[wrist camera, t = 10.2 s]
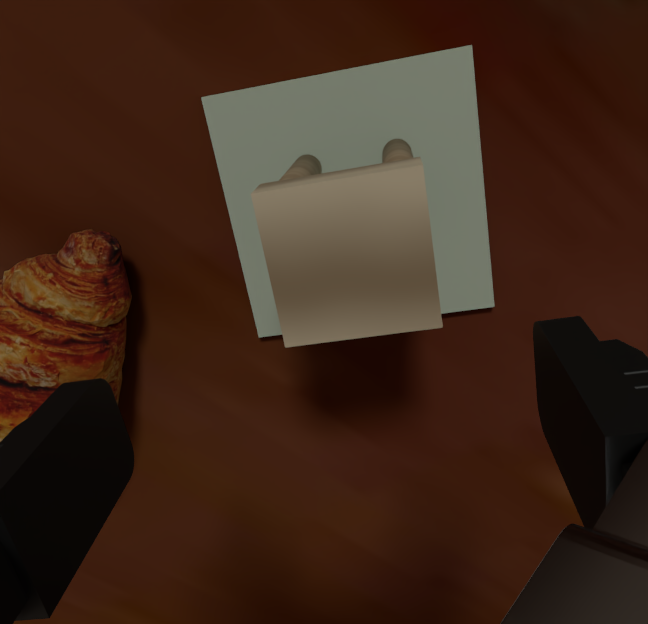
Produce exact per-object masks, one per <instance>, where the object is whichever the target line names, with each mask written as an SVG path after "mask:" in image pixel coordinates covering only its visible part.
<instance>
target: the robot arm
mask: <svg viewBox="0 0 648 624" xmlns="http://www.w3.org/2000/svg"><path fill="white" fill-rule="evenodd" d="M533 341H534V357H535V373H536V388H537V403H538V410H539V416H540V421H541V425H542V429H543V432H544V435H545V437H546V440H547V442H548V444H549V447H550V449H551V451H552V453H553V456H554V458H555V460H556V463H557V465H558V467H559V470H560V472H561V474H562V476H563V479H564V481H565V483H566V486H567V488H568V490H569V493H570V495H571V497H572V499H573V502H574V504H575V506H576V509H577V511H578V513H579V516H580V518H581V520H582V522H583V525H584V527H582V526H579V525H576V524H570V525H568V526H567V527H565V528H564V529H563V530H562V532H561V533H560V534H559V536H558V537H557V539H556V540H555V542H554V543H553V545H552V546H551V548H550V549H549V551H548V552H547V554H546V555H545V557H544V558H543V560H542V561H541V563H540V564H539V566H538V567H537V569H536V570H535V572H534V574H533V575H532V577H531V578H530V580H529V581H528V583H527V584H526V586H525V587H524V589H523V590H522V592H521V593H520V595H519V596H518V598H517V599H516V601H515V602H514V604H513V605H512V607H511V608H510V610H509V611H508V613H507V615H506V616H505V618H504V619H503V621H502V622H501V624H648V358H647V356H646V355H645V354H644V353H643V352H642V351H640V350H638V349H636V348H634V347H632V346H630V345H628V344H626V343H624V342H622V341H620V340H617V339H615V340H607V341H599V340H598V339H597V337H596V336H595V335H594V333H593V332H592V331H591V329H590V328H589V327H588V326H587V324H586V323H585V322H584V320H583V319H582V318H581V317H580V316H575V317H567V318H560V319H552V320H545V321H537V322H535V323H534V327H533ZM133 467H134V452H133V447H132V444H131V441H130V438H129V435H128V432H127V430H126V427H125V424H124V421H123V418H122V416H121V413H120V410H119V407H118V404H117V402H116V399H115V396H114V393H113V391H112V388H111V386H110V385H109V383H108V382H107V381H106V380H105V379H102V378H97V379H90V380H82V381H75V382H67V383H63V384H61V385H60V386H59V387H58V388H57V389H56V390H55V391H54V392H53V393H52V394H51V395H50V396H49V397H48V398H47V399H46V400H45V402H44V403H43V404H42V405H41V406H40V407H39V408H38V409H37V410H36V411H35V412H34V413H33V414H32V415H31V416H30V417H29V418H28V419H26V420H25V421H23V422H22V423H20V424H19V425H17V426H16V427H14V428H13V429H12V430H11V432H10V433H9V434H8V435H7V436H6V437H5V438H4V439H3V440H2V441H1V442H0V624H13V623H14V621H17V620H31V619H45V618H50V616H51V615H52V613H53V611H54V609H55V608H56V606H57V604H58V603H59V601H60V599H61V597H62V596H63V594H64V592H65V590H66V589H67V587H68V585H69V584H70V582H71V580H72V578H73V577H74V575H75V573H76V571H77V570H78V568H79V566H80V565H81V563H82V561H83V559H84V558H85V556H86V554H87V553H88V551H89V549H90V547H91V546H92V544H93V542H94V540H95V539H96V537H97V535H98V534H99V532H100V530H101V528H102V527H103V525H104V523H105V521H106V520H107V518H108V516H109V515H110V513H111V511H112V509H113V508H114V506H115V504H116V502H117V501H118V499H119V497H120V496H121V494H122V492H123V490H124V489H125V487H126V485H127V483H128V482H129V480H130V478H131V476H132V473H133Z"/></svg>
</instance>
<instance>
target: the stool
mask: <svg viewBox="0 0 648 624" xmlns="http://www.w3.org/2000/svg"><path fill="white" fill-rule="evenodd" d="M321 171H322V167H321V163H320V161H319V160H318V159H317V158H316V157H315V156H313V155H308V154H307V155H302V156H300V157H299V158H298V159H297V160H296V161H295V162H294V163H293V164H292V166H291V167H290V168H289V169H288V170H287V172H286V173H285V174H284V175H283V176H282V177H281V179H280V180H279V181H274V182H268V183H263V184H260V185H259V186H258V187H257V188H256V189H255V190H254V191H253V192H252V193H251V198H252V202H253V207H254V211H255V216H256V220H257V225H258V229H259V233H260V238H261V242H262V247H263V251H264V256H265V260H266V264H267V269H268V273H269V278H270V282H271V287H272V291H273V295H274V300H275V304H276V309H277V313H278V318H279V322H280V326H281V331H282V335H283V340H284V344H285V348H286V347H294V346H302V345H310V344H317V343H325V342H333V341H341V340H349V339H356V338H364V337H372V336H380V335H388V334H395V333H403V332H411V331H419V330H427V329H435V328H442V327H443V325H442V317H441V309H440V300H439V292H438V284H437V276H436V267H435V259H434V251H433V243H432V234H431V226H430V218H429V210H428V201H427V193H426V185H425V177H424V168H423V163H422V161H421V158H420V157H415V158H414V157H413V154H412V151H411V147H410V145H409V144H408V143H407V142H406V141H404V140H402V139H393V140H390V141H389V142H388V143H387V144H386V145H385V146H384V148H383V153H382V163H380V164H374V165H368V166H363V167H357V168H351V169H345V170H339V171H333V172H327V173H321Z"/></svg>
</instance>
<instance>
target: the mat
mask: <svg viewBox="0 0 648 624" xmlns="http://www.w3.org/2000/svg"><path fill="white" fill-rule="evenodd" d="M201 99H202V103H203V107H204V112H205V116H206V120H207V124H208V128H209V132H210V137H211V141H212V145H213V149H214V153H215V157H216V161H217V166H218V170H219V174H220V178H221V182H222V186H223V191H224V195H225V199H226V203H227V207H228V211H229V215H230V220H231V224H232V228H233V232H234V236H235V240H236V245H237V249H238V253H239V257H240V261H241V265H242V269H243V274H244V278H245V282H246V286H247V290H248V294H249V299H250V303H251V307H252V311H253V315H254V319H255V323H256V328H257V332H258V336H259V337H267V336H275V335H282V331H281V326H280V322H279V318H278V313H277V309H276V304H275V300H274V295H273V291H272V287H271V282H270V278H269V273H268V269H267V264H266V260H265V256H264V251H263V247H262V242H261V238H260V233H259V229H258V225H257V220H256V216H255V211H254V207H253V202H252V198H251V193H252V192H253V191H254V190H255V189H256V188H257V187H258V186H259V185H260V184H263V183H268V182H274V181H279V180H280V179H281V177H282V176H283V175H284V174H285V173H286V172H287V170H288V169H289V168H290V167H291V166H292V164H293V163H294V162H295V161H296V160H297V159H298V158H299V157H300V156H302V155H307V154H308V155H313V156H315V157H316V158H317V159H318V160H319V161H320V163H321V167H322V171H321V173H327V172H333V171H339V170H345V169H351V168H357V167H363V166H368V165H374V164H380V163H382V153H383V148H384V146H385V145H386V144H387V143H388V142H389V141H390V140H393V139H402V140H404V141H406V142H407V143H408V144H409V145H410V147H411V151H412V154H413V157H414V158H415V157H420V158H421V161H422V163H423V168H424V177H425V185H426V193H427V201H428V210H429V218H430V226H431V234H432V243H433V251H434V259H435V267H436V276H437V284H438V292H439V300H440V309H441V314H443V313H451V312H458V311H466V310H474V309H481V308H489V307H494V296H493V284H492V273H491V261H490V249H489V238H488V226H487V214H486V203H485V191H484V180H483V168H482V156H481V145H480V133H479V121H478V110H477V98H476V86H475V75H474V63H473V52H472V45H469V46H464V47H459V48H453V49H448V50H443V51H438V52H433V53H428V54H422V55H417V56H412V57H407V58H402V59H397V60H392V61H386V62H381V63H376V64H371V65H366V66H361V67H355V68H350V69H345V70H340V71H335V72H330V73H325V74H319V75H314V76H309V77H304V78H299V79H294V80H288V81H283V82H278V83H273V84H268V85H263V86H258V87H252V88H247V89H242V90H237V91H232V92H227V93H221V94H216V95H211V96H206V97H201Z"/></svg>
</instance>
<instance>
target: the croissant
mask: <svg viewBox="0 0 648 624" xmlns="http://www.w3.org/2000/svg"><path fill="white" fill-rule="evenodd" d="M131 298H132V295H131V291H130V287H129V282H128V277H127V272H126V269H125V267H124V263H123V258H122V251H121V246H120V244H119V243H118V241H117V239H116V238H114V237H112V236H111V235H110V233H109V232H105V231H101V232H97V233H96V232H95V231H94V230H92V229H90V230H84V231H81V232H76V233H71V235H70V237H69V238H68V240H67V242H66V243H65V245H64V247H63V248H62V249H61V250H60V251H59V252H58V254H43V255H38V256H35V257H33V258H27V259H25V260H23V261H21V262H19V263H17V264H16V265H15V266H14V267H12V268H11V269H10V270H8V271H5V272H4V277H3V279H2V280H0V442H1V441H2V440H3V439H4V438H5V437H6V436H7V435H8V434H9V433H10V432H11V430H12V429H13V428H14V427H16V426H17V425H19V424H20V423H22V422H23V421H25V420H26V419H28V418H29V417H30V416H31V415H32V414H33V413H34V412H35V411H36V410H37V409H38V408H39V407H40V406H41V405H42V404H43V403H44V402H45V400H46V399H47V398H48V397H49V396H50V395H51V394H52V393H53V392H54V391H55V390H56V389H57V388H58V387H59V386H60V385H61V384H63V383H67V382H75V381H82V380H90V379H97V378H102V379H105V380H106V381H107V382H108V383H109V385H110V386H111V388H112V391H113V393H114V396H115V399H116V402H117V404H118V401H119V394H120V389H121V383H122V365H123V362H124V358H125V345H126V328H127V322H126V315H127V313H128V310H129V307H130V303H131Z"/></svg>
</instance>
